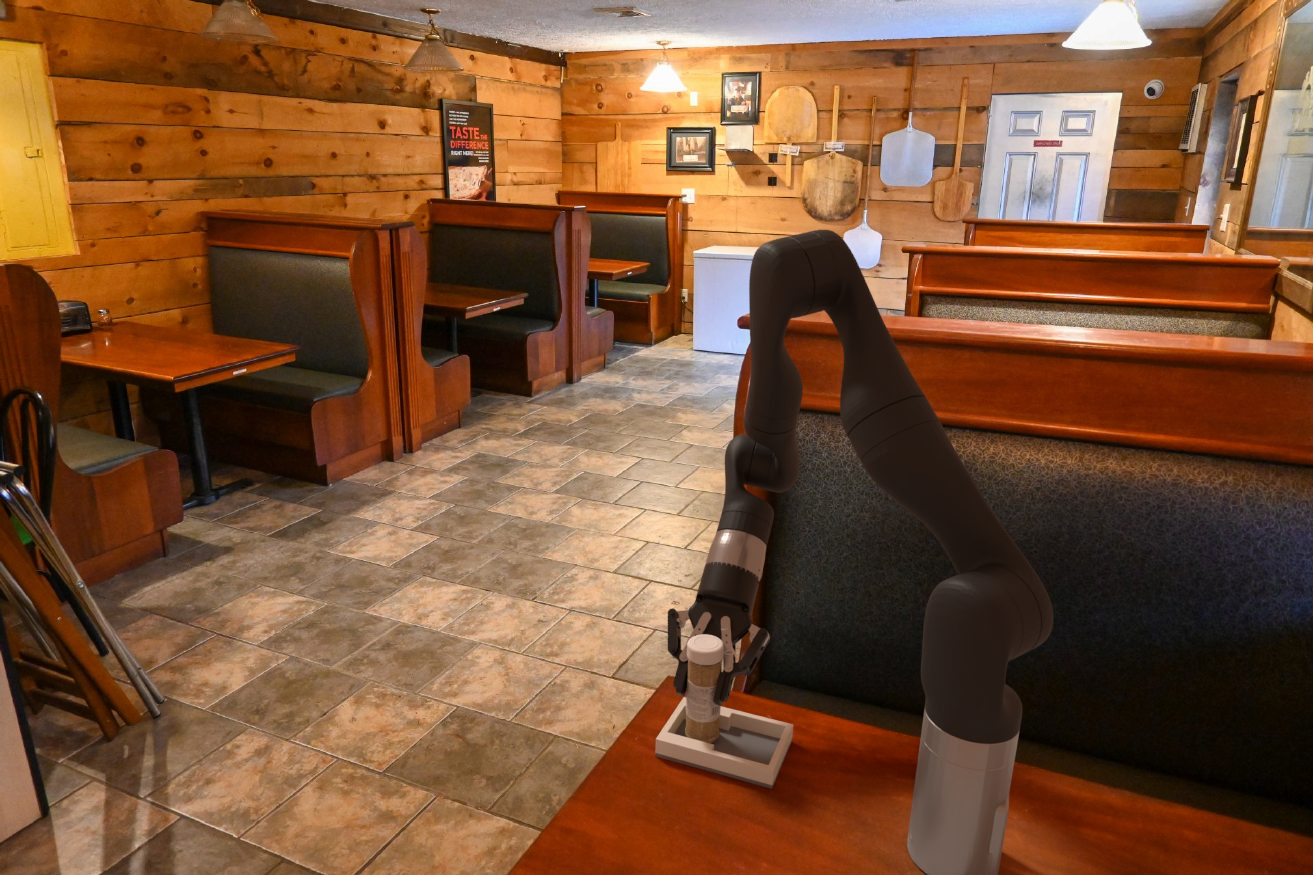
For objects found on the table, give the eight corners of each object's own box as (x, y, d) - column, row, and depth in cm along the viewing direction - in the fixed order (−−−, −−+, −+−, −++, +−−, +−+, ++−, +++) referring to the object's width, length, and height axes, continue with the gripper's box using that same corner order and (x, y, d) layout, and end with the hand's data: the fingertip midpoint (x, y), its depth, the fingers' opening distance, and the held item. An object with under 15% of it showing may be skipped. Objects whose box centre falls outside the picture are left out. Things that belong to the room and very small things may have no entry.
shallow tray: (792, 741, 111) (793, 724, 111) (772, 788, 103) (773, 770, 102) (683, 712, 117) (683, 696, 116) (655, 756, 108) (655, 738, 107)
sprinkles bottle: (703, 719, 114) (706, 629, 110) (727, 736, 111) (731, 643, 107) (676, 732, 111) (679, 640, 107) (700, 750, 108) (704, 655, 104)
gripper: (675, 551, 114) (637, 678, 107) (781, 571, 109) (749, 705, 102) (688, 571, 120) (653, 692, 113) (788, 591, 115) (758, 719, 108)
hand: (698, 698), depth 107 cm, fingers closed on sprinkles bottle, 4 cm apart
